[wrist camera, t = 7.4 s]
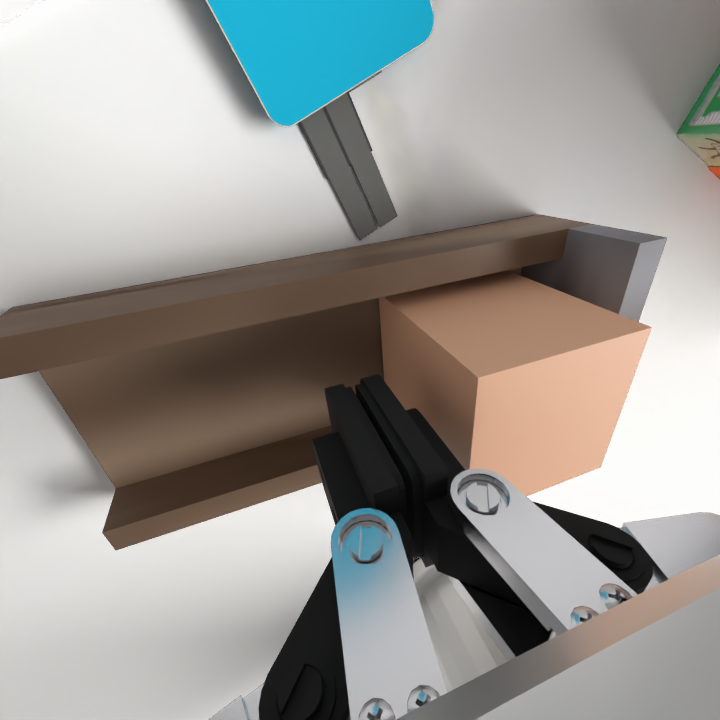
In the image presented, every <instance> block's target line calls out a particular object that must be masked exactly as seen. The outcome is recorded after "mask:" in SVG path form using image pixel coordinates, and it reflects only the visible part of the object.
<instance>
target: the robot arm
mask: <svg viewBox="0 0 720 720" xmlns="http://www.w3.org/2000/svg"><path fill="white" fill-rule="evenodd" d="M355 391H356V394H355V393H354V391H353V389H352V387H347V388H345V386H344V385H343V384H339V385H336V386H332V387H328V388H325V397H326V402H327V407H328V413H329V418H330V423H331V429H332V433H330V434H327V435H324V436H321V437H317V438H314V439H312V444H313V449H314V453H315V457H316V461H317V465H318V469H319V473H320V476H321V480H322V483H323V487H324V490H325V493H326V496H327V499H328V503H329V506H330V509H331V512H332V515H333V519H334V522H335V525H336V526H335V528H334V531H333V533H332V536H331V551H332V558H331V560H330V562H329V564H328V565H327V567H326V569H325V571H324V573H323V574H322V576H321V578H320V580H319V582H318V584H317V585H316V587H315V589H314V591H313V593H312V595H311V596H310V598H309V600H308V602H307V604H306V606H305V607H304V609H303V611H302V613H301V615H300V616H299V618H298V620H297V622H296V624H295V626H294V627H293V629H292V631H291V633H290V635H289V637H288V638H287V640H286V642H285V644H284V646H283V648H282V649H281V651H280V653H279V655H278V657H277V658H276V660H275V662H274V664H273V666H272V668H271V669H270V671H269V673H268V675H267V678H266V680H265V682H264V683H263V684H262V685H261V686H259V687H258V688H257V689H255V690H254V691H253V692H251V693H250V694H249V695H247V696H246V697H245V698H244V699H243V698H242V697H241V695H240V696H239V697H238V698H236V699H235V700H234V701H232V702H231V703H230V704H228V705H227V706H226V707H224V708H223V709H222V710H221V711H219V712H218V713H217V714H215V715H214V716H213V717H211V718H210V719H209V720H720V515H717V514H713V513H702V512H698V513H691V514H684V515H677V516H670V517H663V518H656V519H648V520H641V521H634V522H627V523H624V524H623V526H622V528H617V527H615V526H612V525H610V524H607V523H604V522H601V521H597V520H594V519H590V518H587V517H583V516H580V515H577V514H573V513H570V512H566V511H563V510H560V509H556V508H553V507H549V506H546V505H542V504H539V503H536V502H532V501H531V500H530V499H529V498H527V497H526V496H525V495H524V494H523V493H522V492H521V491H519V490H518V489H517V488H516V487H515V486H514V485H513V484H511V483H510V482H509V481H508V480H507V479H506V478H504V477H503V476H501V475H500V474H498V473H496V472H493V471H491V470H487V469H480V468H476V469H468V470H465V469H464V467H463V466H462V465H461V464H460V462H459V461H458V460H457V459H456V457H455V456H454V455H453V453H452V452H451V451H450V450H449V448H448V447H447V446H446V445H445V443H444V442H443V441H442V439H441V438H440V437H439V436H438V434H437V433H436V432H435V430H434V429H433V428H432V427H431V425H430V424H429V423H428V422H427V420H426V419H425V418H424V416H423V415H422V414H421V413H420V412H419V410H418V409H416V408H412V409H409V410H405V409H404V407H403V406H402V404H401V403H400V402H399V400H398V399H397V398H396V396H395V395H394V394H393V392H392V391H391V389H390V388H389V387H388V385H387V384H386V383H385V381H384V380H383V379H382V377H381V376H380V375H379V374H376V375H372V376H368V377H365V378H361V379H360V384H357V385H355ZM418 556H420V557H421V558H420V559H418V560H417V561H416V562H415V563H414V564H413V557H414V558H416V557H418Z"/></svg>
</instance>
